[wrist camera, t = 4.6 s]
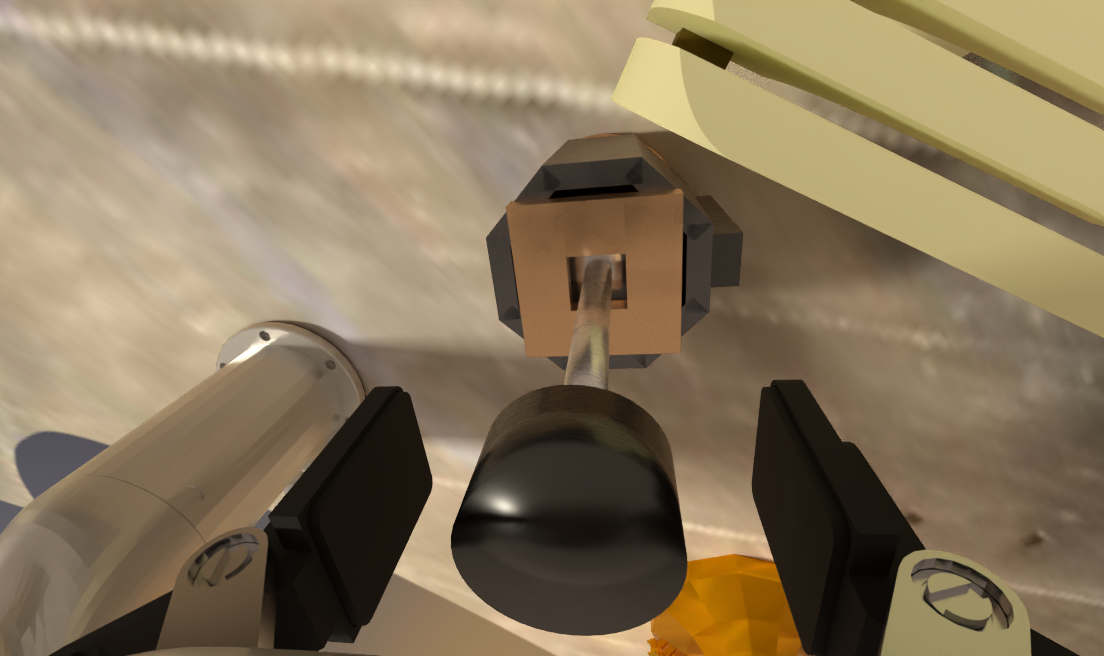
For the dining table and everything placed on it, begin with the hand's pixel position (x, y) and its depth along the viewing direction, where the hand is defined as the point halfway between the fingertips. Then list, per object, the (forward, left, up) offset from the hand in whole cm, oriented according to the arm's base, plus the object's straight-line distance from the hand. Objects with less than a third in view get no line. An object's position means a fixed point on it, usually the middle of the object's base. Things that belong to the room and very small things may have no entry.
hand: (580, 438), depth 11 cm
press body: (0, 0, -23) cm, 23 cm away
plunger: (0, 0, -12) cm, 12 cm away
